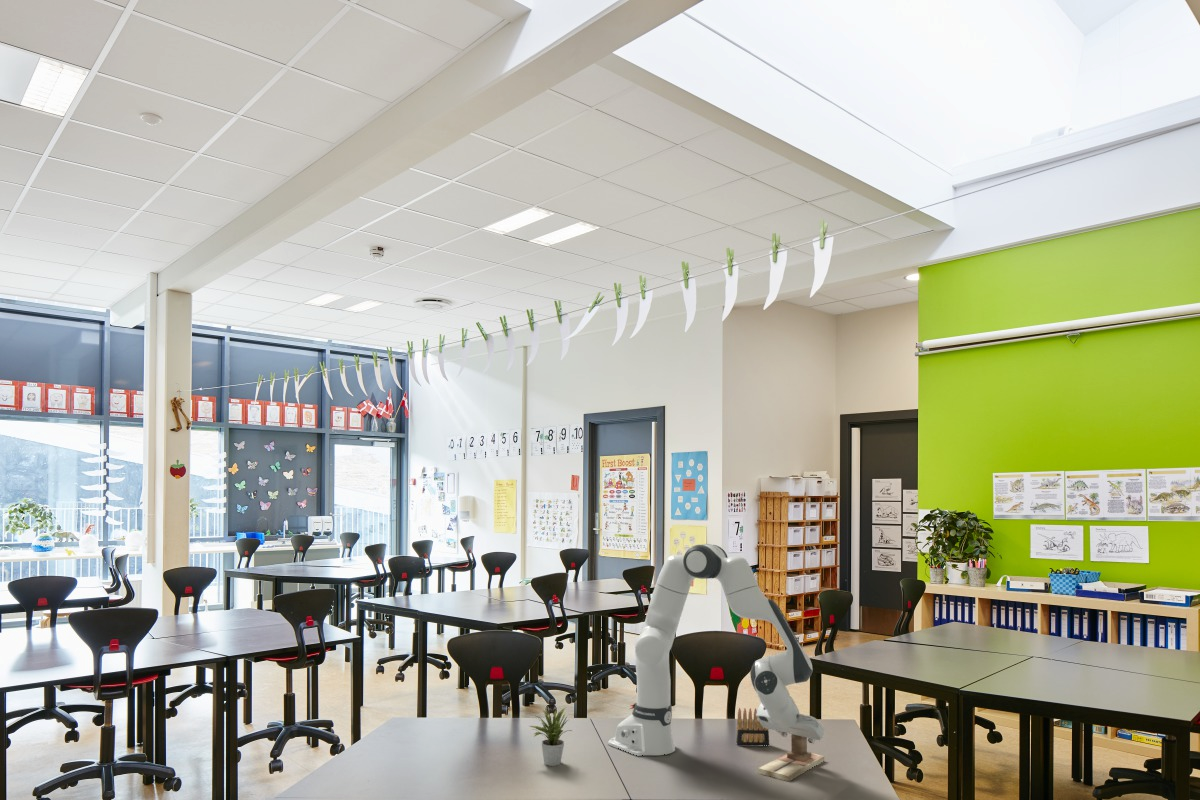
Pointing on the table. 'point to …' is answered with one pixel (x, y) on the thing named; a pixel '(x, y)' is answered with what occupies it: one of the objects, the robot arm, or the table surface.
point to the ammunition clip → (751, 730)
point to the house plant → (552, 738)
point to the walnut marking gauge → (799, 748)
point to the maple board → (789, 767)
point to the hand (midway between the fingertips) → (798, 738)
